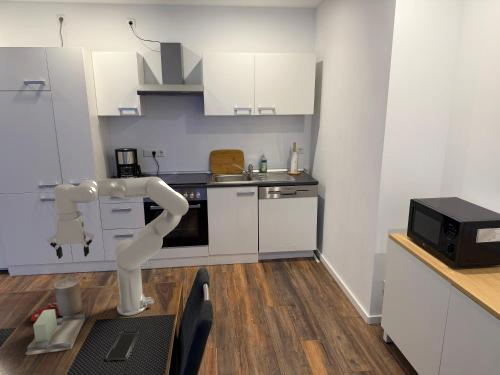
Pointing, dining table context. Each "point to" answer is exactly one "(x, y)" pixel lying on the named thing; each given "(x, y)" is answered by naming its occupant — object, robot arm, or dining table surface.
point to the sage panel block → (45, 326)
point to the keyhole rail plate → (59, 336)
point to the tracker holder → (38, 313)
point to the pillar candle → (68, 296)
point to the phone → (122, 346)
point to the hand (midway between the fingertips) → (73, 256)
